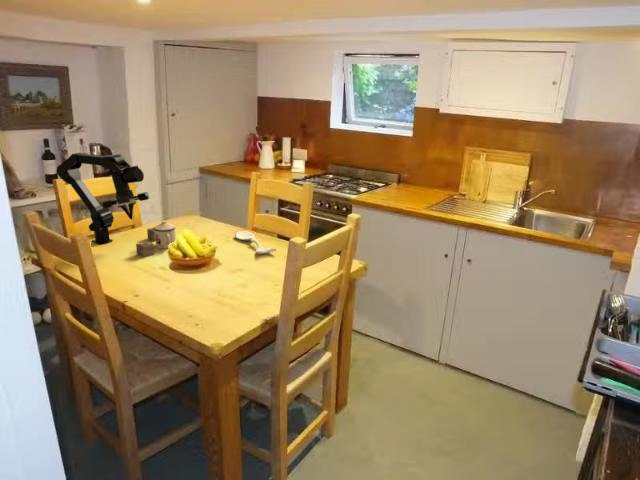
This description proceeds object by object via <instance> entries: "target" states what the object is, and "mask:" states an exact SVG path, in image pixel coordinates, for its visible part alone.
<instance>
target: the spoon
mask: <svg viewBox="0 0 640 480" xmlns="http://www.w3.org/2000/svg"><path fill="white" fill-rule="evenodd" d="M234 236H235V238H236V239H239V240H241V241H250V242H252V243H255V245H256V246H257V247H256V248H257V249H256V250H255V252H256V254H258V255H260V254H268V253H273V252H277V249H276V248H269V247H268V248H267V247H263V246H262V245H261V244H260V242H259V241H258V239H257V238H255V237H256V235H254V233H252V232H251V231H247V230H239V231H237V232H235V233H234Z"/></svg>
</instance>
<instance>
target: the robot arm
mask: <svg viewBox="0 0 640 480" xmlns="http://www.w3.org/2000/svg"><path fill="white" fill-rule="evenodd" d="M83 164H85V165H94V166H99V167H102V168H103V169H106V170H108V172H107V173H106V177H107V176H108V177H109V176H111V178H112V182H113V186H114V189H115V198H116V199H115V200H114V199H113V198H109V199H106V200H103V201H102V202H101V204H100V203H99V202H98V200H97V199H96V197H95V196H94V195H93V193H92V192H91V190H90V189H89V188H88V187H87V184H85V182H84V181H83V179H82V177H81V176H82V174H81V171H80V168H81V167H82V165H83ZM56 174H57V175H58V177H59V178H61V180H62V181H63V182H65V183H67V184H69V185H70V186H71V188H73V190H74V191H75V193H76V194H77V195H78V197H79V198H80V200H81V201H82V202H83V204H84V205H85V206H86V208H87V209H88V211H89V212H90V218H91V219H90V220H91V223H90V224H89V225H88V229H89V231H91V232H93V233H94V239H93V240H91V242H92V243H94V244H97V245H104V244H108V243H111V242H113V241H114V240H113V239H111V238H110V232H109V228H111V227H112V225H113V223H114V219H115V218H114V215H113V212H111V210H110V208H111V207H112V206H114V205H117V208H120V209H122V210H123V211H124V213H125V214H126V215H127V217H128V218H129V219H130V220H133V219H134V218H133V215H134V206H135V205H136V204H137V201H140V202H143V201H147V200H149V199H150V196H149V193H148V192H140V193H137V195H134V192H133V190H132V189H131V188H130V184H134V183H141V182H143V181H144V178H145V174H144V172H143V171H142V169H141V168H139V166H138V165H133V166H132V165H130V164H129V163H128V162H127V161H126V160H125V159H124V157H123V155H121V154H109V155H98V154H89V153H83V152H75V153H72V154H71V155H70V156H69V157H68V158H67V159H65V160H64V161H62V162H61V164H59V165H58V166H57V167H56Z"/></svg>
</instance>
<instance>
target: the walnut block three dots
mask: <svg viewBox="0 0 640 480" xmlns="http://www.w3.org/2000/svg"><path fill="white" fill-rule="evenodd" d="M154 227H155V226H154ZM154 227H150V228H147V230H146V232H147V240H150V241H152V242H156V239H155V230H154Z"/></svg>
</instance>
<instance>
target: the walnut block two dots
mask: <svg viewBox="0 0 640 480" xmlns="http://www.w3.org/2000/svg"><path fill="white" fill-rule="evenodd" d="M135 248H136V255H137V256H138V257H141V258H144V259H145V258H149V257H151V256H154V255H155V245H154V243H152V242H149V241H147V240H146V241H142V242H139V243H136V244H135Z"/></svg>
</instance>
